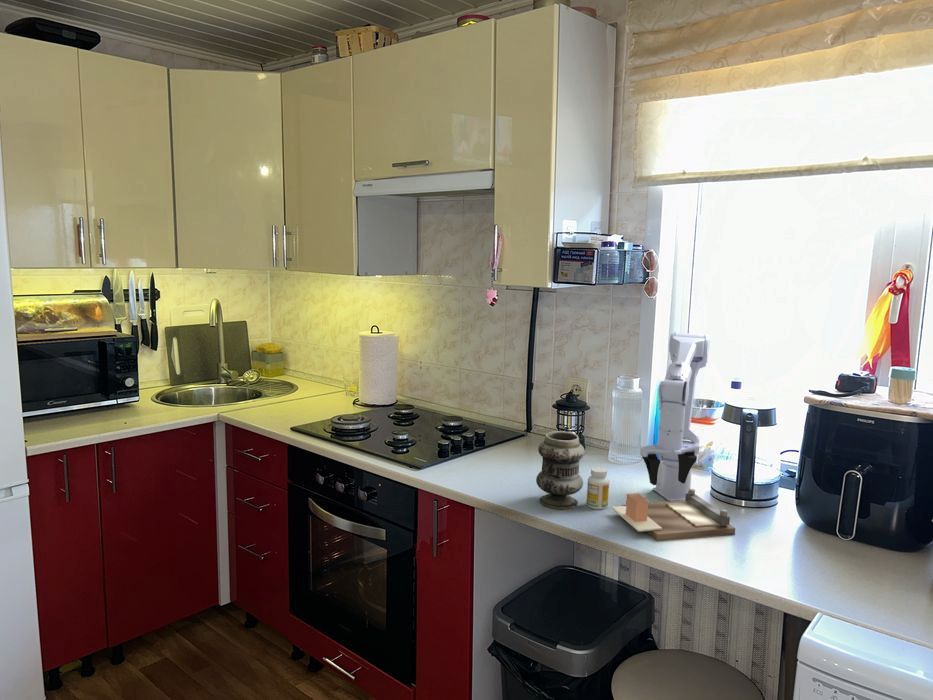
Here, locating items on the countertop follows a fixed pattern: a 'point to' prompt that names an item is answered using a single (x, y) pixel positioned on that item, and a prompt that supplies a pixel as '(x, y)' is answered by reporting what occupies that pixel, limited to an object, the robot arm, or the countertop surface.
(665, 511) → the ticket board
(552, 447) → the apothecary jar
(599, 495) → the supplement bottle
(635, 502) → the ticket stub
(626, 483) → the countertop surface
